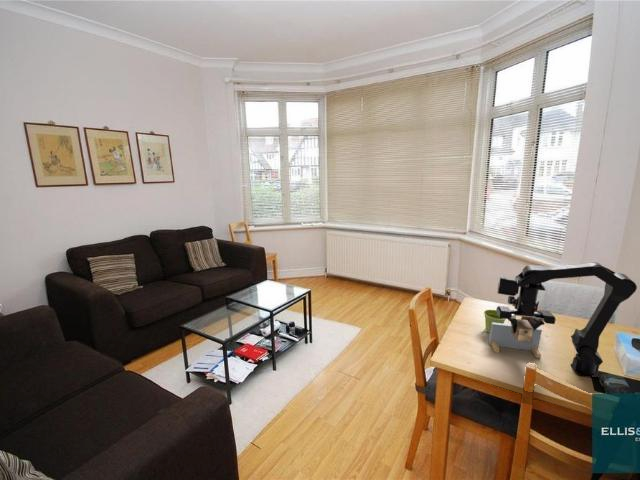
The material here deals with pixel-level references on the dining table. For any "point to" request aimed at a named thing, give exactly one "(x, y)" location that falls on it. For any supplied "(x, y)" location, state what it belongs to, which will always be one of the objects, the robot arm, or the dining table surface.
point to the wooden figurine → (530, 317)
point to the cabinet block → (523, 331)
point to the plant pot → (492, 319)
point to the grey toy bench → (512, 339)
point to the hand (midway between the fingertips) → (521, 333)
